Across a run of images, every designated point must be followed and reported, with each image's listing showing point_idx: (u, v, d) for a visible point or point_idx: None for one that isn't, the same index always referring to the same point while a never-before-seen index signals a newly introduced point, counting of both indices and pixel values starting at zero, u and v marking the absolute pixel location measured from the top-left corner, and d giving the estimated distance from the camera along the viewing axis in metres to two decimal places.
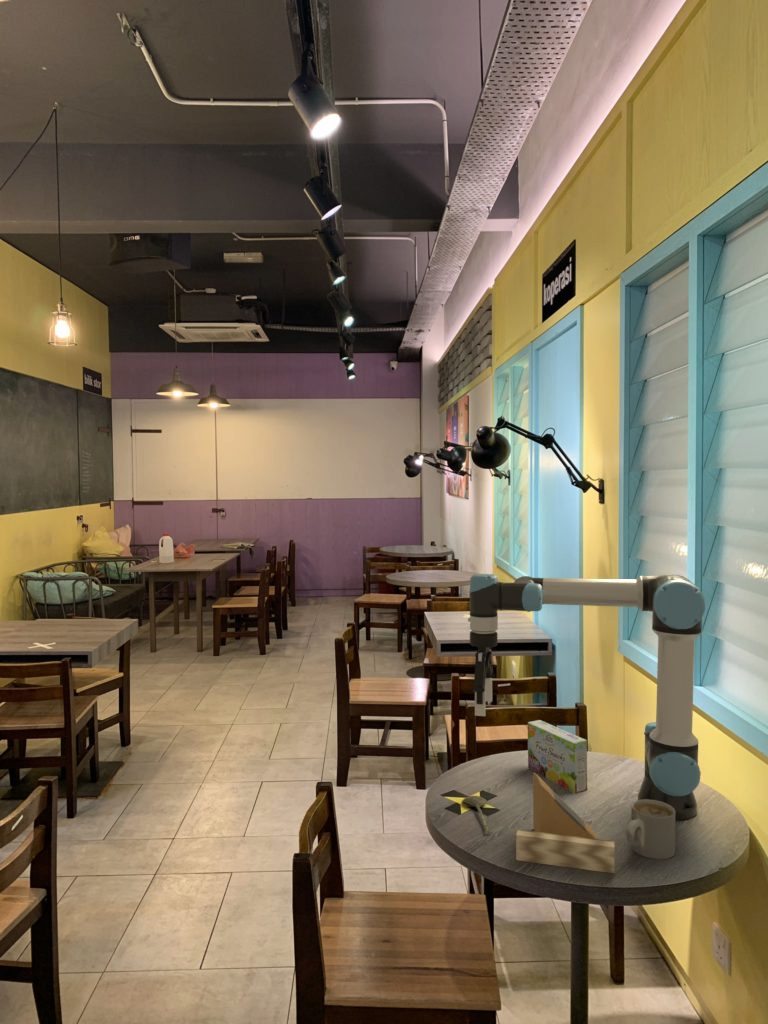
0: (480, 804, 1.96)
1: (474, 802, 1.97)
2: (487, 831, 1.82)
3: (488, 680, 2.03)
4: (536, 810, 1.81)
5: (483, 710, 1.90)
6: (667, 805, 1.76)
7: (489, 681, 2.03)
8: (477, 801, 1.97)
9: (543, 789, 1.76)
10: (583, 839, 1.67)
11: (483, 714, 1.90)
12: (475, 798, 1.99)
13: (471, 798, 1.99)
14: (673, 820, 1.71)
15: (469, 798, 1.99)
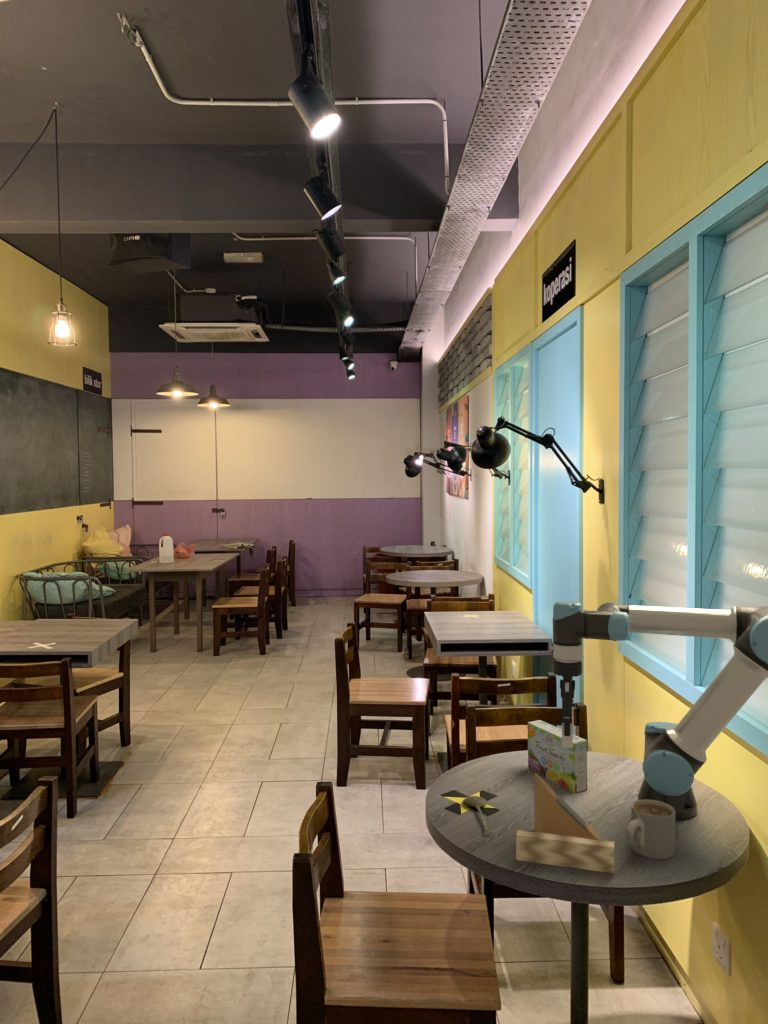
0: (480, 804, 1.96)
1: (475, 802, 1.97)
2: (487, 831, 1.81)
3: None
4: (537, 810, 1.81)
5: (570, 742, 1.86)
6: (667, 805, 1.76)
7: None
8: (477, 801, 1.97)
9: (545, 789, 1.76)
10: (583, 839, 1.67)
11: (570, 746, 1.86)
12: (475, 798, 1.98)
13: (471, 798, 1.98)
14: (673, 820, 1.71)
15: (469, 798, 1.99)
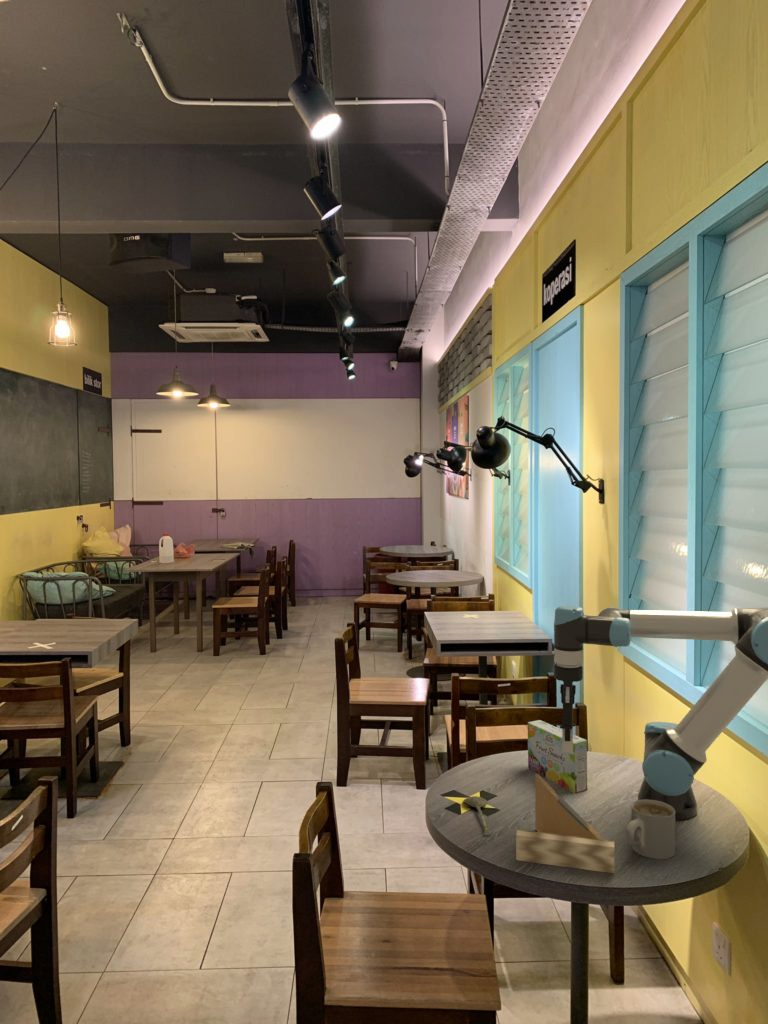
0: (480, 805, 1.96)
1: (475, 803, 1.96)
2: (487, 832, 1.81)
3: None
4: (539, 811, 1.81)
5: (571, 747, 1.92)
6: (667, 805, 1.76)
7: None
8: (477, 802, 1.97)
9: (546, 790, 1.76)
10: (583, 839, 1.67)
11: (570, 751, 1.92)
12: (476, 798, 1.98)
13: (472, 799, 1.98)
14: (673, 820, 1.71)
15: (470, 799, 1.98)
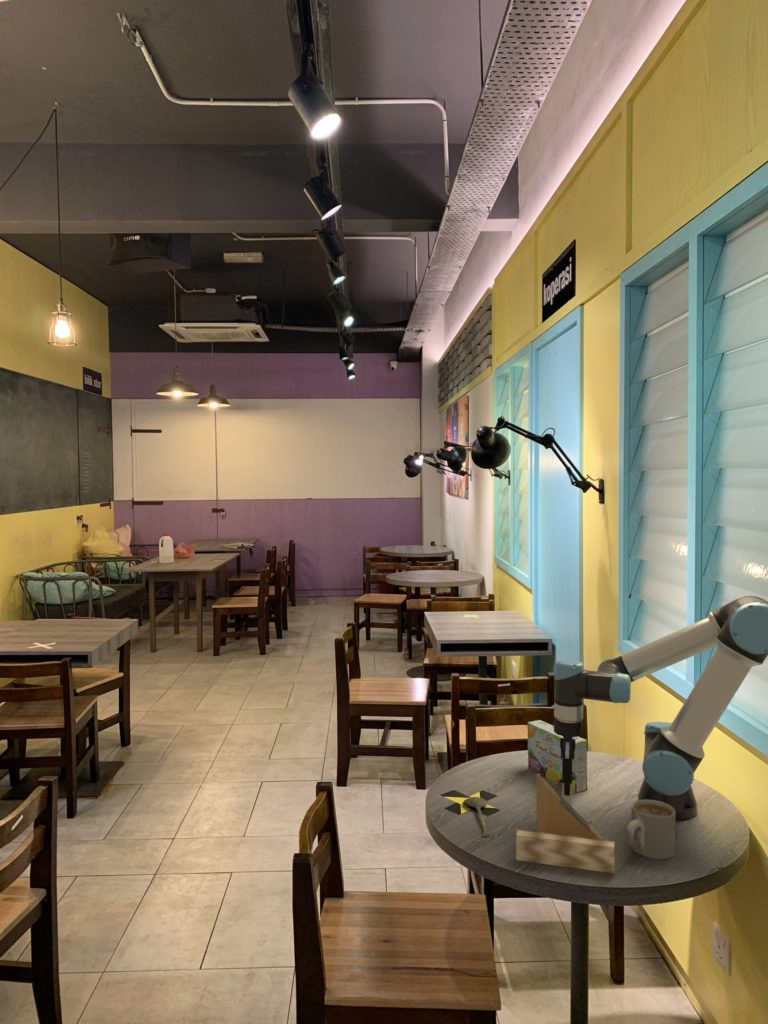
0: (480, 805, 1.96)
1: (475, 803, 1.96)
2: (486, 833, 1.81)
3: None
4: (540, 811, 1.80)
5: (570, 801, 1.93)
6: (667, 805, 1.76)
7: None
8: (478, 802, 1.96)
9: (548, 790, 1.76)
10: (583, 839, 1.67)
11: (570, 805, 1.93)
12: (476, 799, 1.98)
13: (472, 799, 1.98)
14: (673, 820, 1.71)
15: (470, 799, 1.98)
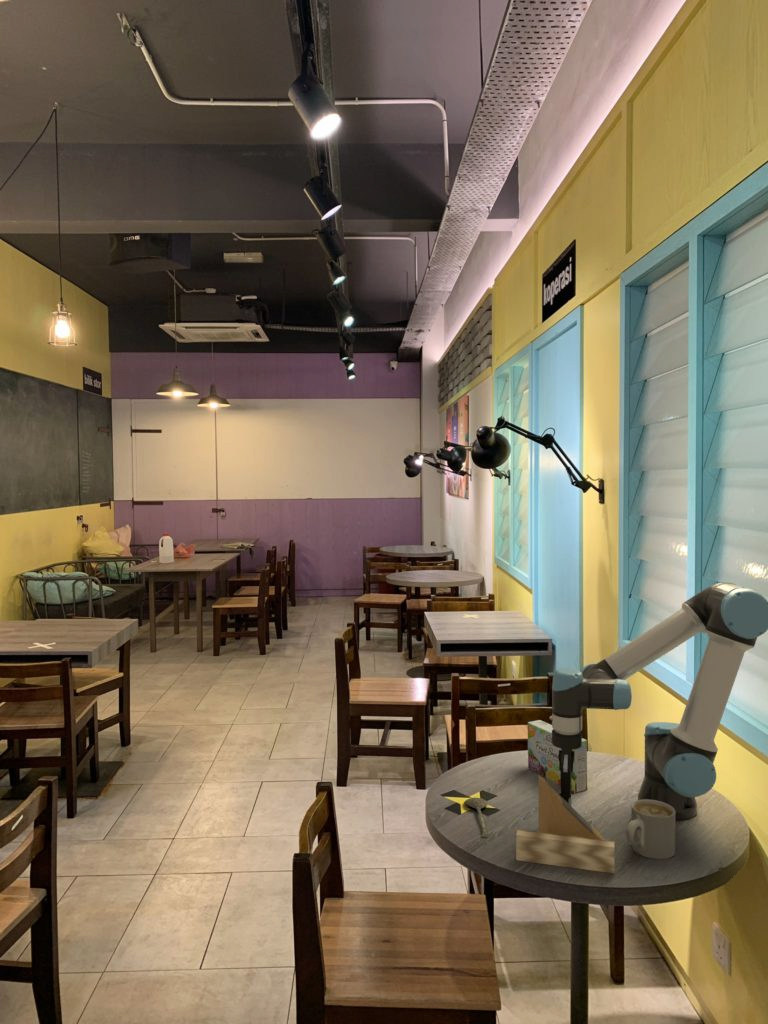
0: (481, 806, 1.95)
1: (475, 804, 1.96)
2: (485, 834, 1.80)
3: None
4: (542, 814, 1.79)
5: None
6: (667, 805, 1.76)
7: None
8: (478, 803, 1.96)
9: (550, 792, 1.74)
10: (583, 839, 1.67)
11: None
12: (476, 800, 1.97)
13: (472, 800, 1.97)
14: (673, 820, 1.71)
15: (470, 800, 1.98)
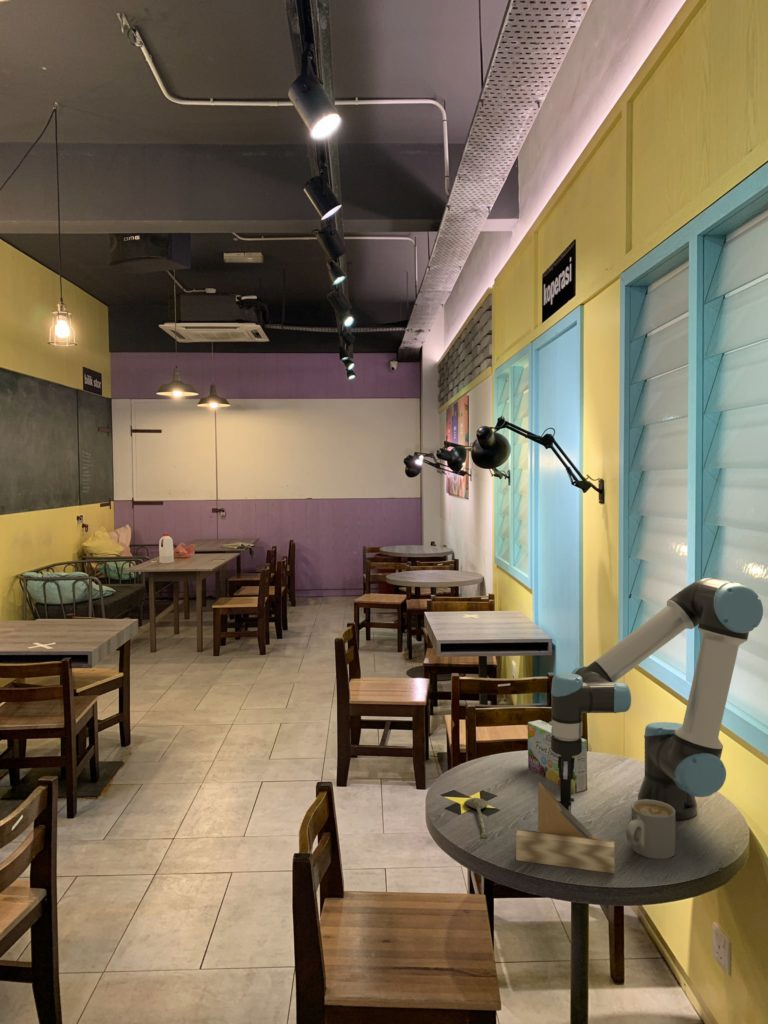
0: (481, 807, 1.95)
1: (475, 804, 1.95)
2: (484, 834, 1.80)
3: None
4: (541, 821, 1.75)
5: None
6: (667, 805, 1.76)
7: None
8: (478, 803, 1.96)
9: (549, 800, 1.70)
10: (583, 839, 1.67)
11: None
12: (477, 800, 1.97)
13: (472, 800, 1.97)
14: (673, 820, 1.71)
15: (470, 800, 1.97)
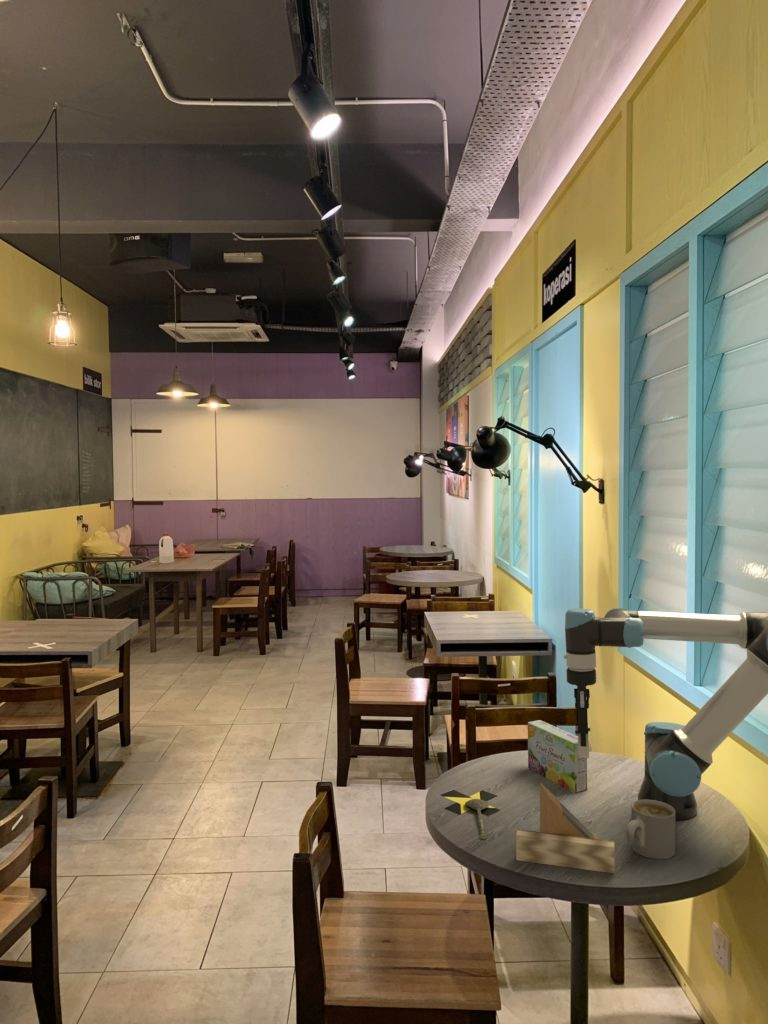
0: (481, 808, 1.94)
1: (476, 805, 1.95)
2: (483, 835, 1.80)
3: None
4: (543, 823, 1.74)
5: (587, 752, 1.89)
6: (667, 805, 1.76)
7: None
8: (478, 804, 1.95)
9: (550, 801, 1.70)
10: (583, 839, 1.67)
11: (587, 756, 1.89)
12: (477, 801, 1.96)
13: (473, 801, 1.96)
14: (673, 820, 1.71)
15: (471, 801, 1.97)
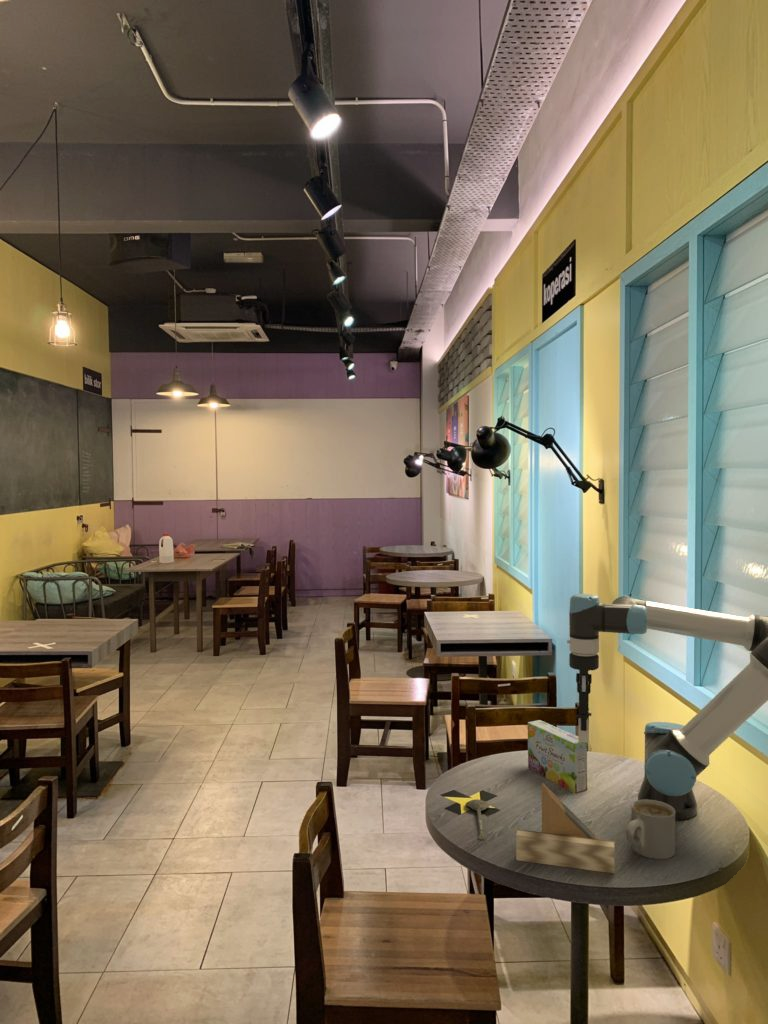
0: (481, 808, 1.94)
1: (476, 806, 1.94)
2: (481, 836, 1.79)
3: None
4: (545, 823, 1.74)
5: (587, 736, 1.90)
6: (667, 805, 1.76)
7: None
8: (479, 805, 1.95)
9: (553, 801, 1.69)
10: (583, 839, 1.67)
11: (587, 740, 1.90)
12: (478, 802, 1.96)
13: (473, 802, 1.96)
14: (673, 820, 1.71)
15: (471, 802, 1.96)
